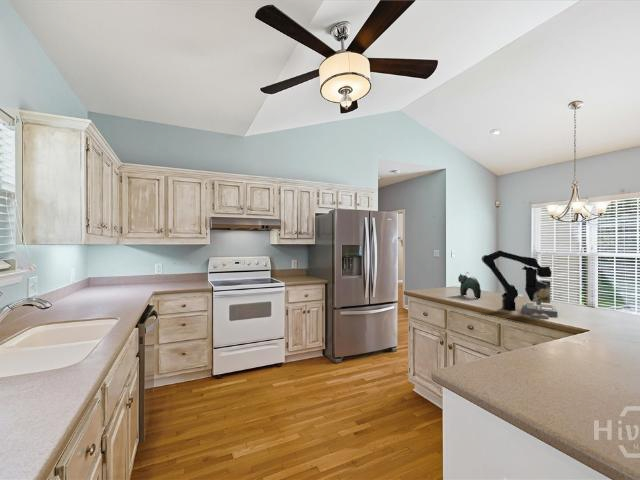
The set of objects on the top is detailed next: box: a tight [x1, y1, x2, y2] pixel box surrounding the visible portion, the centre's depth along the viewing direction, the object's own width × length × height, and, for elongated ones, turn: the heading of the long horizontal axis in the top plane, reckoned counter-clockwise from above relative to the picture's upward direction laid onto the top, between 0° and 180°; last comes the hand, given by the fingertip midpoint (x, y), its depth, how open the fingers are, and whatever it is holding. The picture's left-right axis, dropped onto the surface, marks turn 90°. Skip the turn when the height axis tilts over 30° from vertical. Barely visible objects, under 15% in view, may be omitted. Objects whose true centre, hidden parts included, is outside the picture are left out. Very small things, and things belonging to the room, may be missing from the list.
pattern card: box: [530, 313, 549, 320], centre depth 178 cm, size 8×8×1 cm
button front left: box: [526, 303, 538, 309], centre depth 189 cm, size 5×5×2 cm
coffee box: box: [531, 279, 551, 305], centre depth 216 cm, size 9×6×16 cm
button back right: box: [540, 302, 552, 308], centre depth 190 cm, size 5×5×2 cm
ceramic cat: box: [457, 271, 482, 299], centre depth 245 cm, size 20×6×20 cm, turn 17°
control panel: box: [521, 303, 558, 318], centre depth 190 cm, size 17×17×3 cm
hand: (531, 300), depth 195 cm, fingers closed
